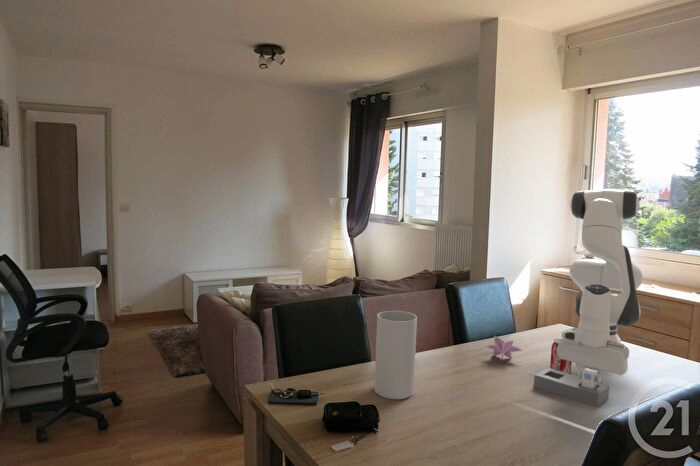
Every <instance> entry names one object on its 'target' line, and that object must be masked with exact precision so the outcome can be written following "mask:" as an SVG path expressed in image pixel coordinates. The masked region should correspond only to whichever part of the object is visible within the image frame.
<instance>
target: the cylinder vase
mask: <svg viewBox="0 0 700 466" xmlns="http://www.w3.org/2000/svg"><path fill="white" fill-rule="evenodd" d="M417 323H418V316H417V315H416V314H414V313H412V312H408V311H400V310H386V311H381V312H379V313H377V317H376V342H375V345H376V346H375V362H374V363H375V365H374V366H375V367H374V369H375V370H374V392H375V393H376V394H377V395H378V396H380V397H382V398H385V399H388V400H404V399H408V398H410V397H411V396H412V395H413V394H414V391H415V390H414V387H415V386H414V385H415V370H416V369H415V368H416V367H415V366H416V347H417V328H418V327H417V326H418V325H417Z"/></svg>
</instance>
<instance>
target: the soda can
mask: <svg viewBox="0 0 700 466" xmlns="http://www.w3.org/2000/svg"><path fill="white" fill-rule="evenodd" d="M561 339H562V338H555V339H554V340H553V342H552V344H551V350H550V351H551V352H550V362H549V363H550V365H549V368H551V369H554V370H558V371H561V372H565V373H568V374H571V372H572V365H573V362H571V361H567V360H564V359H560V358H559V357H558V355H557V349H558V344H559V341H560V340H561Z"/></svg>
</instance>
